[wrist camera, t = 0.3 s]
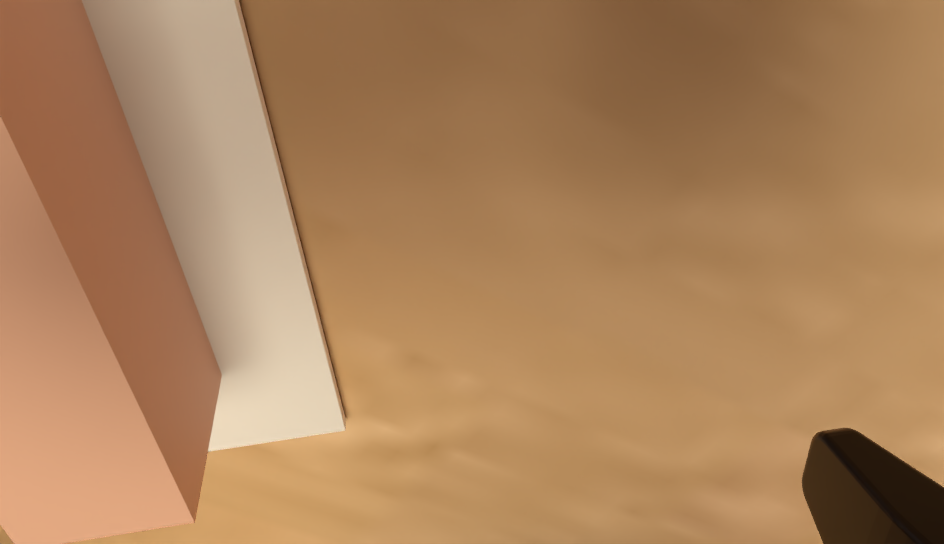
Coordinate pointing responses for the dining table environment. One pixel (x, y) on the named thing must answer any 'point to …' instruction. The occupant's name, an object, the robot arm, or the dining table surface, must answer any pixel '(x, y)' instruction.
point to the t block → (88, 304)
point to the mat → (224, 209)
